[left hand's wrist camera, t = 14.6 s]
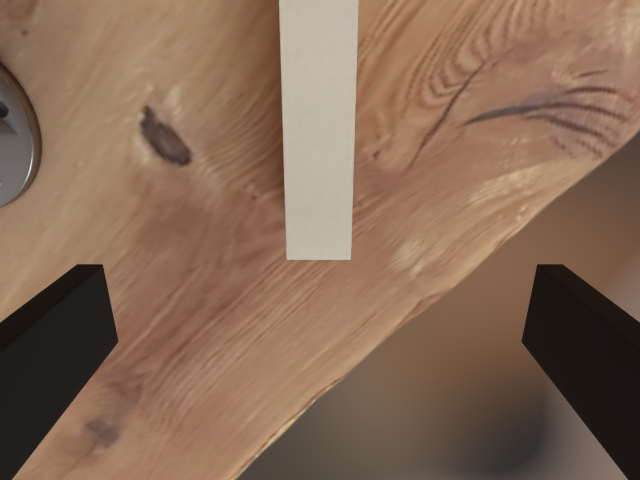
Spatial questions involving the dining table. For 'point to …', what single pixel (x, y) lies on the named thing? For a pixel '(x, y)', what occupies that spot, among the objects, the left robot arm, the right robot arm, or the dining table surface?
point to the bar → (318, 125)
